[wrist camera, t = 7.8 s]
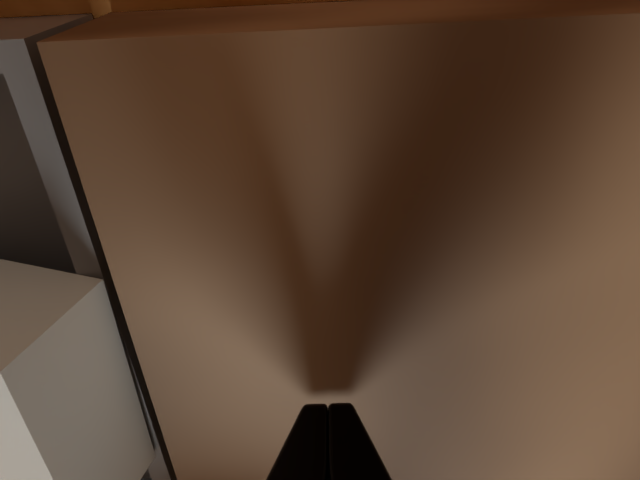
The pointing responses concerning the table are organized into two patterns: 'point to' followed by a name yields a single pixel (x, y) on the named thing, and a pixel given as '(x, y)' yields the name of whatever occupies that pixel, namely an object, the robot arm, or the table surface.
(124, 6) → the table surface
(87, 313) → the tile
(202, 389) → the brown board
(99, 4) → the table surface
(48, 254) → the tray
